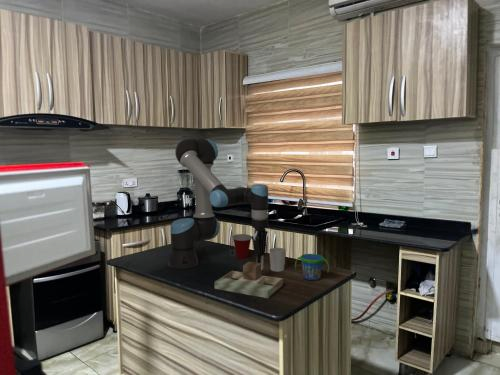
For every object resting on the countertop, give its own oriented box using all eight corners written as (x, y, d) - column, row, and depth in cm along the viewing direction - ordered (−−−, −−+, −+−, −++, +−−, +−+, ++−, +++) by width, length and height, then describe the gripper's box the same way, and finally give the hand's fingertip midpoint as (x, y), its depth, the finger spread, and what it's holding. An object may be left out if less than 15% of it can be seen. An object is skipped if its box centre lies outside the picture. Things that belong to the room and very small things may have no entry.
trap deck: (214, 288, 163) (214, 281, 162) (232, 277, 177) (232, 270, 177) (268, 298, 152) (268, 291, 152) (282, 285, 166) (282, 278, 166)
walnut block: (243, 278, 166) (243, 265, 165) (249, 274, 171) (249, 261, 171) (255, 280, 163) (255, 267, 163) (261, 276, 169) (261, 263, 168)
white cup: (284, 272, 183) (284, 252, 182) (268, 271, 184) (268, 251, 183) (286, 267, 191) (286, 248, 190) (270, 266, 192) (270, 247, 191)
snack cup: (330, 276, 177) (331, 255, 176) (326, 284, 167) (327, 261, 166) (298, 272, 183) (298, 252, 181) (292, 279, 173) (292, 258, 172)
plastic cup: (237, 261, 201) (237, 239, 200) (229, 256, 211) (229, 235, 209) (255, 258, 206) (255, 237, 205) (246, 253, 216) (246, 233, 214)
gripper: (261, 221, 165) (261, 274, 167) (273, 216, 176) (273, 266, 179) (246, 220, 168) (246, 272, 170) (258, 215, 180) (258, 264, 182)
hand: (260, 269), depth 175 cm, fingers closed
